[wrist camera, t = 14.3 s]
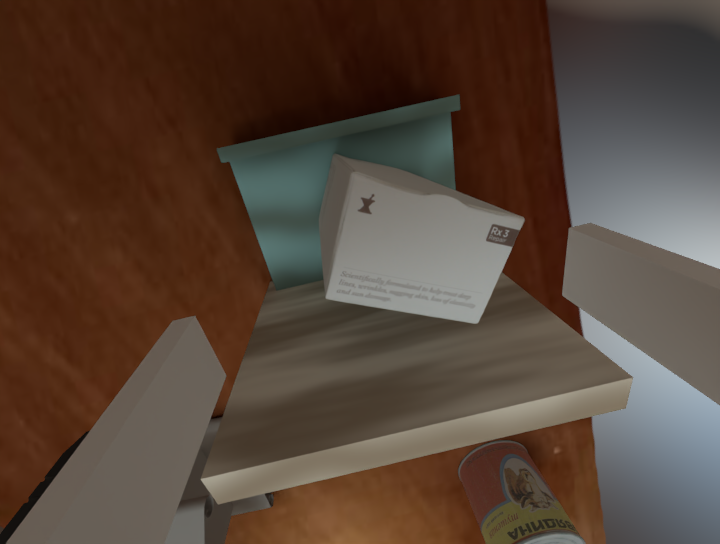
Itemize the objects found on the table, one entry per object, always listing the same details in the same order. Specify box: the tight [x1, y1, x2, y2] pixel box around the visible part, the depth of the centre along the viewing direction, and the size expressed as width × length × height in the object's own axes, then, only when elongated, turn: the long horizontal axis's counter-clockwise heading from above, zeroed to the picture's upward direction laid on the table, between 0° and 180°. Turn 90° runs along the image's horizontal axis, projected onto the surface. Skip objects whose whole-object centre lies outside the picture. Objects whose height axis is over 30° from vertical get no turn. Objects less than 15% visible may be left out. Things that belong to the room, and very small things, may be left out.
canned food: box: [458, 440, 585, 544], centre depth 43 cm, size 11×11×12 cm
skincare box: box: [319, 153, 524, 324], centre depth 20 cm, size 8×6×15 cm
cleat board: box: [201, 95, 633, 504], centre depth 21 cm, size 15×20×20 cm
